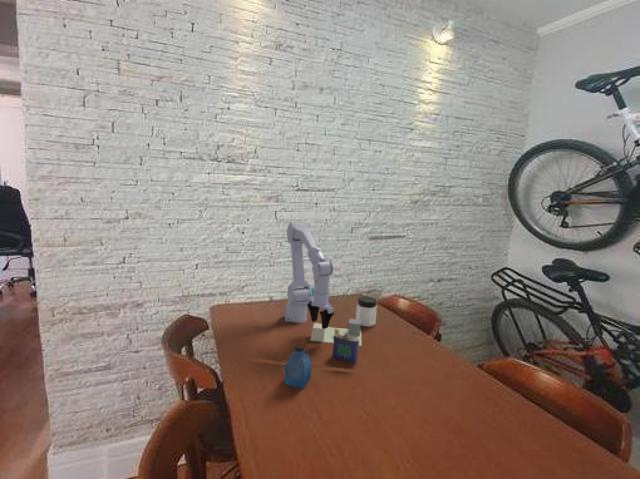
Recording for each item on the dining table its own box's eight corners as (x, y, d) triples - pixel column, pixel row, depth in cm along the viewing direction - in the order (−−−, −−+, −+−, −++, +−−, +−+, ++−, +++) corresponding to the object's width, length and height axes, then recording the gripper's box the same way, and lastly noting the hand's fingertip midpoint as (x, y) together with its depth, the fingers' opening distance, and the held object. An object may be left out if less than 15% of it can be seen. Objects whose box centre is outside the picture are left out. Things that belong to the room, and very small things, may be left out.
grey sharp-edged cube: (348, 334, 136) (349, 323, 136) (348, 329, 141) (349, 318, 140) (359, 335, 136) (360, 324, 135) (359, 330, 140) (360, 319, 140)
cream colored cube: (312, 339, 130) (312, 327, 129) (313, 334, 135) (314, 323, 134) (323, 340, 130) (324, 328, 129) (324, 335, 134) (325, 324, 133)
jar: (366, 330, 144) (368, 303, 142) (352, 324, 150) (353, 298, 148) (378, 325, 150) (380, 299, 148) (364, 319, 156) (366, 294, 154)
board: (309, 342, 130) (310, 333, 129) (314, 327, 143) (315, 319, 143) (361, 348, 128) (362, 338, 127) (361, 332, 141) (361, 323, 141)
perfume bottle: (310, 378, 106) (312, 343, 104) (303, 389, 100) (305, 352, 98) (292, 373, 108) (294, 339, 106) (284, 384, 102) (286, 347, 100)
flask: (358, 362, 117) (360, 334, 115) (356, 366, 114) (358, 337, 113) (333, 356, 120) (335, 328, 119) (330, 360, 118) (332, 331, 116)
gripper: (302, 287, 133) (301, 319, 135) (323, 298, 121) (321, 333, 123) (317, 285, 137) (316, 316, 139) (338, 295, 125) (336, 330, 127)
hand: (319, 324), depth 131 cm, fingers open, 7 cm apart
